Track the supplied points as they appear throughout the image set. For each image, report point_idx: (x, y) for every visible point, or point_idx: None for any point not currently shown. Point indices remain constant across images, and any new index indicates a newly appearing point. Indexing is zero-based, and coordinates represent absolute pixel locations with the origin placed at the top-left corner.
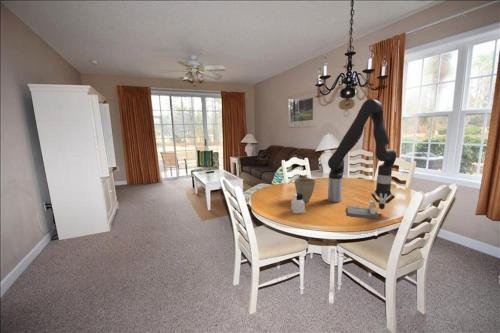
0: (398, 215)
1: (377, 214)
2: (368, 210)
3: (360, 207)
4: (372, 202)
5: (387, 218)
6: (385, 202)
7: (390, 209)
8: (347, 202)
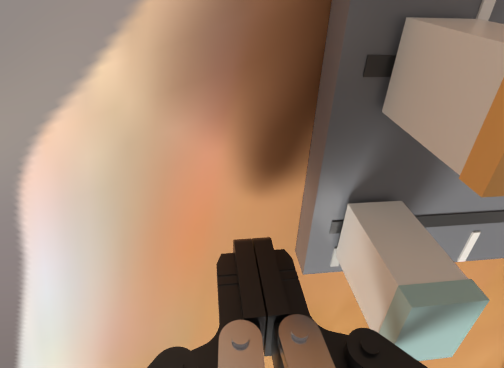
0: (34, 206)
1: (350, 55)
2: (418, 186)
3: (471, 247)
4: (450, 301)
5: (189, 30)
6: (210, 361)
7: (128, 333)
8: (472, 345)
